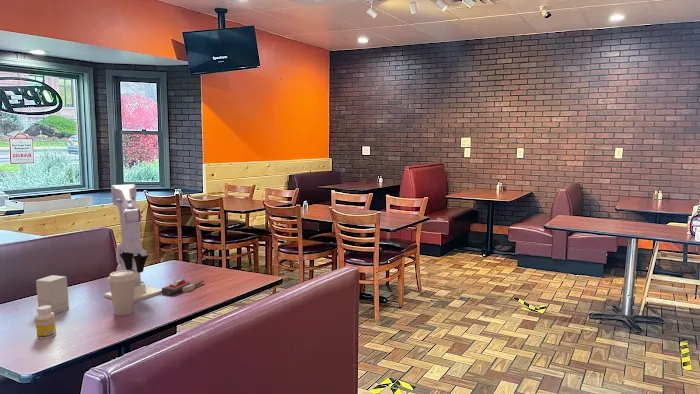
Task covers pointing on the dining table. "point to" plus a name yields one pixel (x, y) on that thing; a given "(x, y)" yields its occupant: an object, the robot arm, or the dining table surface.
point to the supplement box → (53, 293)
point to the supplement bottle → (45, 322)
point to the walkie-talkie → (179, 287)
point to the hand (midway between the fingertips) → (134, 270)
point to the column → (138, 277)
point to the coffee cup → (122, 291)
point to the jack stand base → (141, 292)
